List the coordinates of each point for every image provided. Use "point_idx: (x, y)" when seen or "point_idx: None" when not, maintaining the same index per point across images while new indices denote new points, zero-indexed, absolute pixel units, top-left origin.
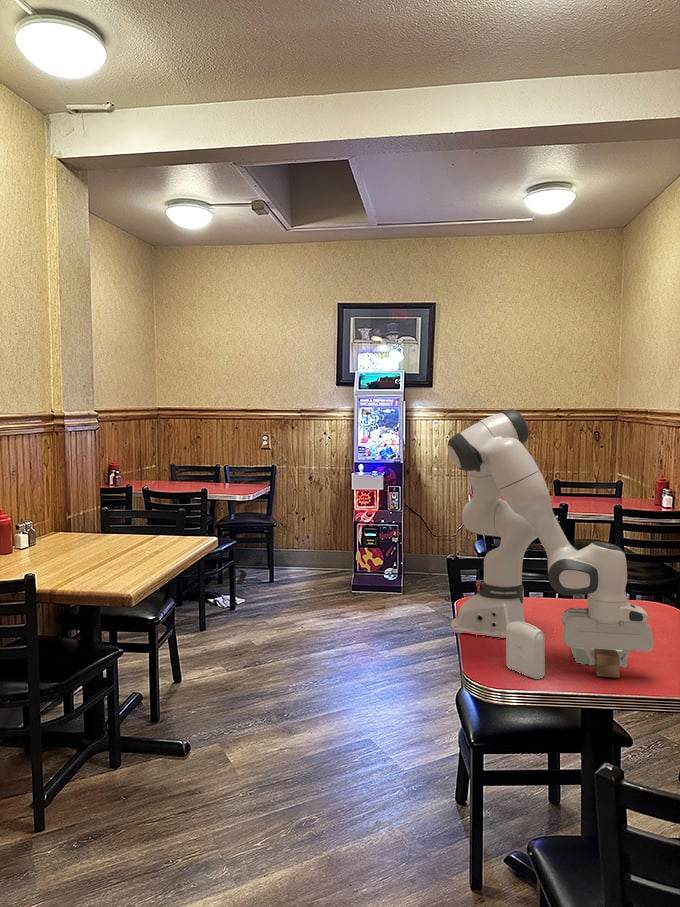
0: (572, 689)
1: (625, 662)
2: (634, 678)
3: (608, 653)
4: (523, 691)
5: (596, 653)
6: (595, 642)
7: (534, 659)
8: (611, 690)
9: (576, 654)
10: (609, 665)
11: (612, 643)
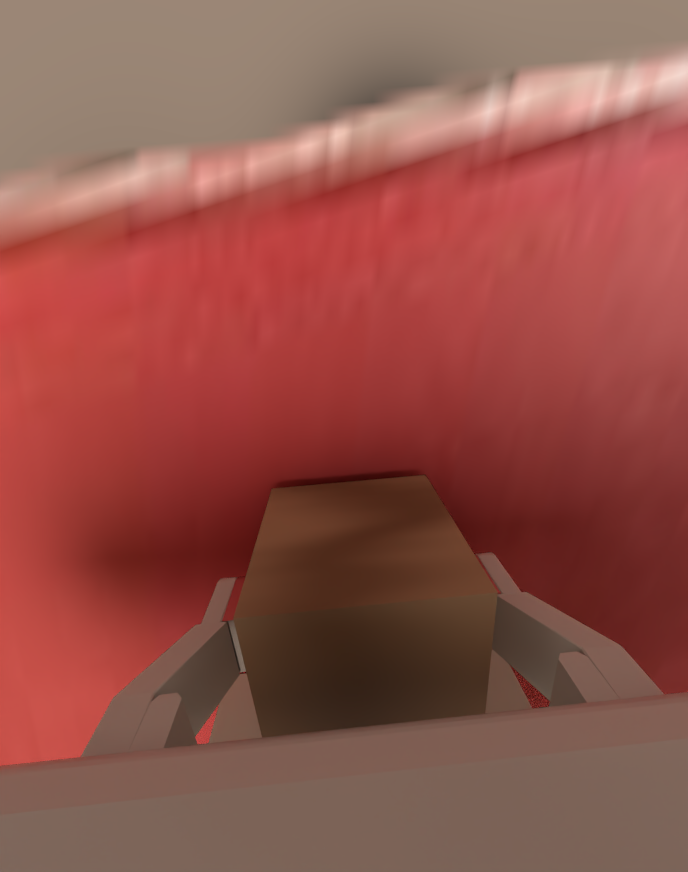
0: (662, 177)
1: (225, 706)
2: (179, 540)
3: (355, 678)
4: None
5: (491, 644)
6: (635, 822)
7: None
8: (346, 255)
9: (530, 708)
10: (346, 533)
11: (311, 863)
